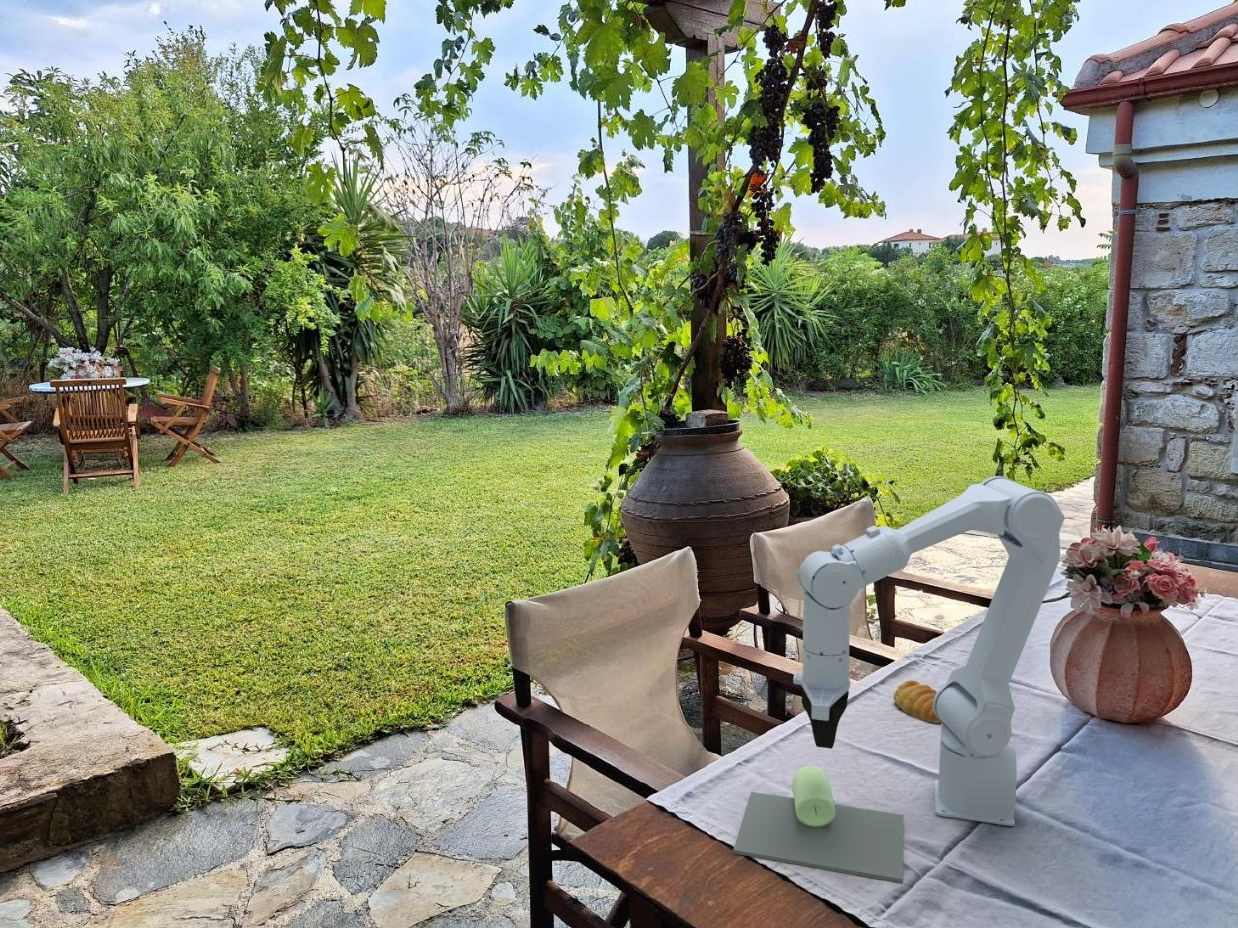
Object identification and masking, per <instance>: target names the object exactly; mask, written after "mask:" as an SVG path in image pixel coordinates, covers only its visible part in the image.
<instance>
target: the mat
mask: <svg viewBox="0 0 1238 928" xmlns="http://www.w3.org/2000/svg"><path fill="white" fill-rule="evenodd" d="M834 805H835V810H836V811H835V816H834V818H833V820H832V821H831V822H830V823H828V824H826V825H824V826H820V827H812V826H808V825H805V824H803V823H802V822H801V821H800V820H799V819H798V818H797V815H796V811H795V802H794V797H788V796H782V795H776V794H775V795H774V794H770V793H763V792H755V791H751V792H750V795H749V798H748V801H747V804H746V807H745V811H744V813H743V816H742V817H743V818H742V821H741V824H740V827H739V831H738V834H737V837H736V841H735V843H734V847H733V855H734V854H735V855H739V856H740V855H741V856H747V857H751V858H752V857H753V858H758V859H763V860H770V861H773V862H782V863H787V864H792V865H798V866H804V867H809V868H813V869H814V868H816V869H821V870H826V871H832V872H839V873H843V874H844V873H845V874H849V875H854V876H860V877H868V878H873V879H878V880H884V881H888V882H895V883H900V884H901V883H902V884H903V883H904V818H905V817H904V816H905V815H904V814H901V813H895V812H887V811H881V810H874V809H868V808H861V807H856V806H855V807H854V806H848V805H842V804H835V803H834Z"/></svg>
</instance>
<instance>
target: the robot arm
mask: <svg viewBox="0 0 1238 928" xmlns="http://www.w3.org/2000/svg"><path fill="white" fill-rule="evenodd" d="M1065 519H1066V518H1065V515H1064V513H1063V511H1062V510H1061V508H1060V506H1059V505H1058V503H1057V502H1056V500H1055V499H1054V498H1053V497H1052V496H1051V495H1050V494H1048V493H1047V492H1044V491H1041V490H1036V489H1034V488H1030V487H1028V486H1025V485H1023V484H1020V483H1018V482H1015V481H1013V480H1012V479H1010V478H1008V477H1005V476H1001V475H999V476H998V475H997V476H996V475H995V476H991V477H988V478H986V479H985V480H983V481H982V482H980V483H975V484H972V485H969V486H968V487H967V488H966V489H965V490H964V491H963V492H962V493H961V494H960V495H958V496H957V497H954V498H953V499H951V500H950V501H947V502H946V503H944V504H942V505H940V506H938V507H937V508H935V509H933V510H931V511H929V512H927V513H925V514H924V515H922V516H920V517H918V518H916V519H915V520H912V521H911V522H909V523H907V524H905V525H903V526H902V527H900V528H896V529H895V528H892V527H890V526H886V525H881V526H880V527H877V526H876V525H872V526H870V527H867V528H866V529H865V534H863V535H861V536H858V537H856V538H855V539H852V540H850V541H848V542H845V543H844V544H842V545H840V544H839V543H837V544H835V545H833V546H831V551H827V550H824V551H823V550H817V551H814V552H812V553H810V554H808V555H807V556H806V557H805V558H804V561H802V562H801V564H800V566H799V569H798V570H797V571H796V579H797V582H798V583H799V585H800V586H801V588H802V589H803V590H804V591H803V612H802V672H795V673H794V674H793V678H792V680H793V681H792V682H793V684H794V685H800V686H801V687H802V689H803V692H802V694H801V705H802V707H803V709H804V710H805V712H806V714H807V717H808V718H809V723H810V726H811V731H812V735H813V739H814V743H815V746H816V748H817V747H818V748H824V749H830V750H831V749H833V747H834V744H835V741H836V738H837V737H836V736H837V730H838V727H839V723H840V720H841V718H842V715H843V714H844V713H845V711H846V710H847V707H848V702H849V701H848V699H849V694H850V693H849V692H850V691H849V690H850V689H851V679H850V676H849V675H850V629H851V628H850V627H851V626H850V624H851V623H850V621H851V613H850V607H851V603H852V602H853V601H854V600H855V598H856V597H857V595H858V593H859V592H860V590H862V589H864V588H865V587H867V586H870V585H871V584H873V583H875V582H877V581H879V580H881V579H884V578H886V577H887V576H890V575H892V574H894V573H897V572H899V571H900V570H903V569H906V567H907V565H908V564H909V562H910V559H911V555H912V554H914V553H917V552H920V551H923V550H925V549H926V548H929V547H932V546H935V545H937V544H939V543H942V542H944V541H947V540H949V539H952V538H953V537H956V536H959V535H962V534H963V533H966V532H970V531H977V532H981V533H987V534H991V535H995V536H996V535H997V537H998V538H999V540H1000V542H1001V544H1002V545H1003V547H1004V549H1005V551H1006V552H1007V554H1008V559H1007V562H1006V564H1005V566H1004V568H1003V572H1002V573H1001V574H1002V575H1001V577H1000V578H999V582H998V584H997V587H996V589H995V591H994V594H993V596H992V599H991V601H990V604H989V607H988V609H987V612H986V614H985V616H984V619H983V620H982V621H983V622H982V625H981V627H980V629H979V631H978V633H977V636H976V639H975V641H974V644H973V647H972V649H971V652H970V654H969V657H968V659H967V662H966V664H965V665H963V666H962V667H958V668H956V669H953V670H952V671H951V672H950V674H949V677H948V679H947V680H946V682H945V683H944V684H943V685H942V686H941V687H940V688H939V689H938V690H937V691H936V692H937V693H936V695H935V697H934V700H933V710H934V713H935V715H936V717H937V718H938V719H939V720H940V721H942V722H940V742H939V745H940V746H939V765H938V767H939V768H938V779H935V780H934V782H933V789H934V807H935V811H934V812H935V814H936V815H938V816H942V817H948V818H954V819H962V820H969V821H974V822H981V823H988V824H995V825H1002V826H1009V827H1014V826H1015V814H1016V813H1015V812H1016V811H1015V810H1016V801H1017V777H1018V776H1017V775H1018V773H1017V772H1018V770H1017V767H1018V765H1017V764H1018V763H1017V753H1016V748H1015V747H1014V746H1012V745H1009V742H1010V740H1011V738H1012V719H1013V715H1014V713H1015V710H1016V708H1015V703H1014V700H1013V697H1012V693H1011V690H1010V682H1011V679H1012V677H1013V674H1014V673H1015V671H1016V670H1015V669H1016V668H1017V665H1018V663H1019V660H1020V658H1021V655H1022V653H1023V650H1024V648H1025V645H1026V643H1027V640H1028V639H1029V638H1028V637H1029V636H1030V633H1031V631H1032V629H1033V627H1034V623H1035V621H1036V619H1037V617H1038V614H1039V612H1040V609H1041V606H1042V605H1043V602H1044V600H1045V599H1044V598H1045V596H1046V595H1047V592H1048V589H1049V586H1050V584H1051V582H1052V579H1053V577H1054V575H1055V573H1056V569H1057V567H1058V565H1059V562H1060V559H1061V546H1060V545H1061V544H1060V543H1061V541H1060V531H1061V529H1062V526H1063V524H1064V521H1065Z"/></svg>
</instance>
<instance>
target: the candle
mask: <svg viewBox="0 0 1238 928" xmlns="http://www.w3.org/2000/svg"><path fill="white" fill-rule="evenodd" d="M792 791H793V793H792V794H793V798H794V802H795V811H796V815H797V818H798V819H799V820H800V821H801V822H802V823H803V824H805V825H808V826H812V827H820V826H824V825H826V824H828V823H830V822H831V821H832V820H833V818H834V816H835V811H836V810H835V805H834V804H835V801H834V795H833V791H832V786H831V782H830V778H829V776H828V774H827V773H826V772H825V771H824V770H823V769H821V768H820V767H816V766H812V765H811V766H804V767H802V768H800V769H798V770H797V771H796V772H795V773H794V775H793V777H792Z"/></svg>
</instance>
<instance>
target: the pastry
mask: <svg viewBox="0 0 1238 928" xmlns="http://www.w3.org/2000/svg"><path fill="white" fill-rule="evenodd" d="M937 692H938V691H936V690H935V689H933V688H931V686H930V685H927V684H921V683H919V682H918V681H916V680H913V679H912V680H911V679H910V680H906V681H904V682H903V683H902V684H900V685H899V686H898V687H897V688H896V690H895V692H894V693H893V700H894V702H895V704H896V705H897V708H900V709H901V710H902V712H904V713H905V714H908V715H911V716H912V717H915V718H916V719H919V720H921V721H922V722H925V723H926V722H928V723H929V722H930V723H933V724H939V723H940V724H941V722H942V721H940V720H939V719H938V718H937V717H936V715H935V713H934V710H933V700H934V697H935V695H936V693H937Z"/></svg>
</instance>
